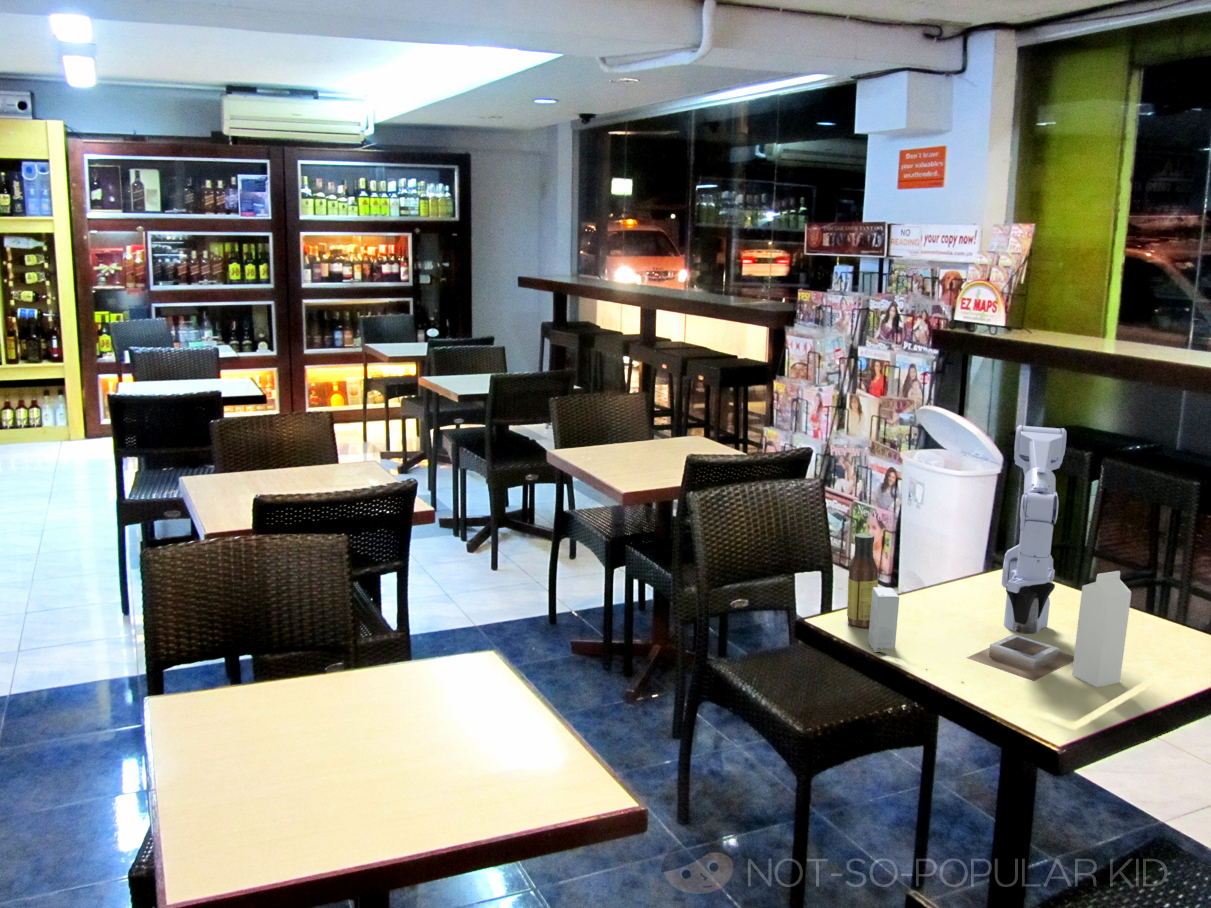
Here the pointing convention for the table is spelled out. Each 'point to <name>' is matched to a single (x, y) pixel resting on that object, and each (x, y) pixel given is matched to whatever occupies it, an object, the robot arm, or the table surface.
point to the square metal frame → (1006, 653)
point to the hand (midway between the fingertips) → (1027, 619)
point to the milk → (1102, 630)
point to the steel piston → (1032, 620)
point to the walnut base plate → (1020, 671)
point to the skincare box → (883, 618)
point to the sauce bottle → (861, 581)
